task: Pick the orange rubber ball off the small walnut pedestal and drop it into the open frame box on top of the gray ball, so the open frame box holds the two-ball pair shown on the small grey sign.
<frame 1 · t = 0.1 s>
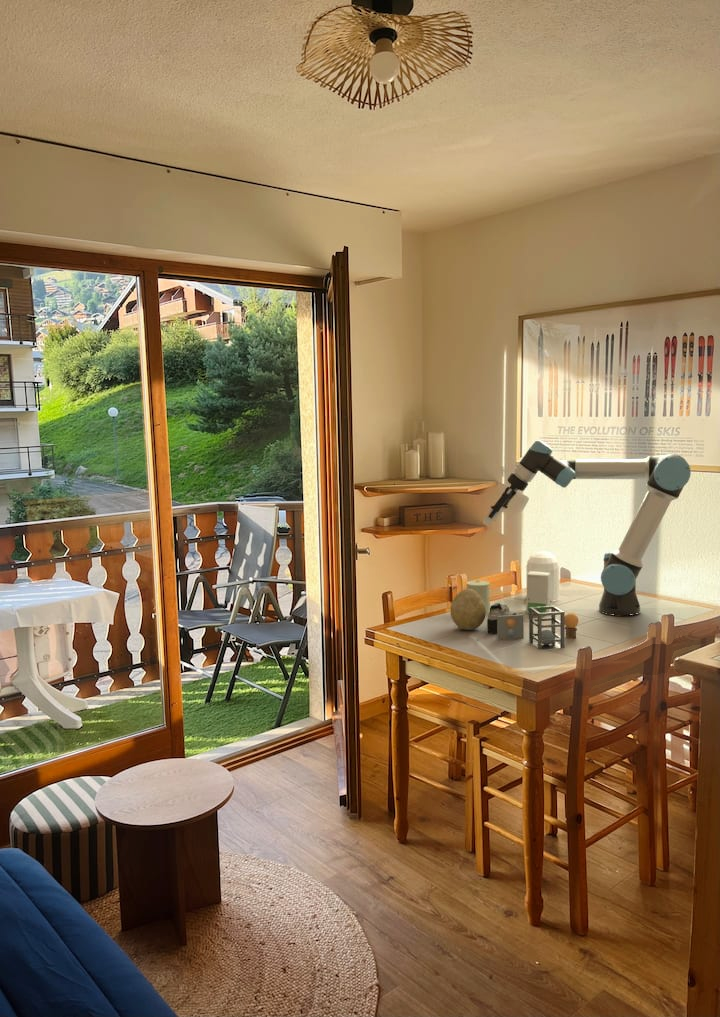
hand: (488, 521, 301), 36 cm above the table, tool tilted 35°, fingers open, 13 cm apart
target sign: (510, 640, 267), on the table
orange ball: (570, 627, 266), point 4 cm above the table, touching pedestal
skincare box: (538, 612, 304), on the table
can: (478, 611, 308), on the table
gray ball: (546, 644, 259), point 1 cm above the table, touching open frame box
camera: (502, 632, 278), on the table
container: (542, 598, 326), on the table
fossilized egg: (468, 630, 283), on the table
open frame box: (546, 647, 259), on the table
pedestal: (570, 639, 266), on the table
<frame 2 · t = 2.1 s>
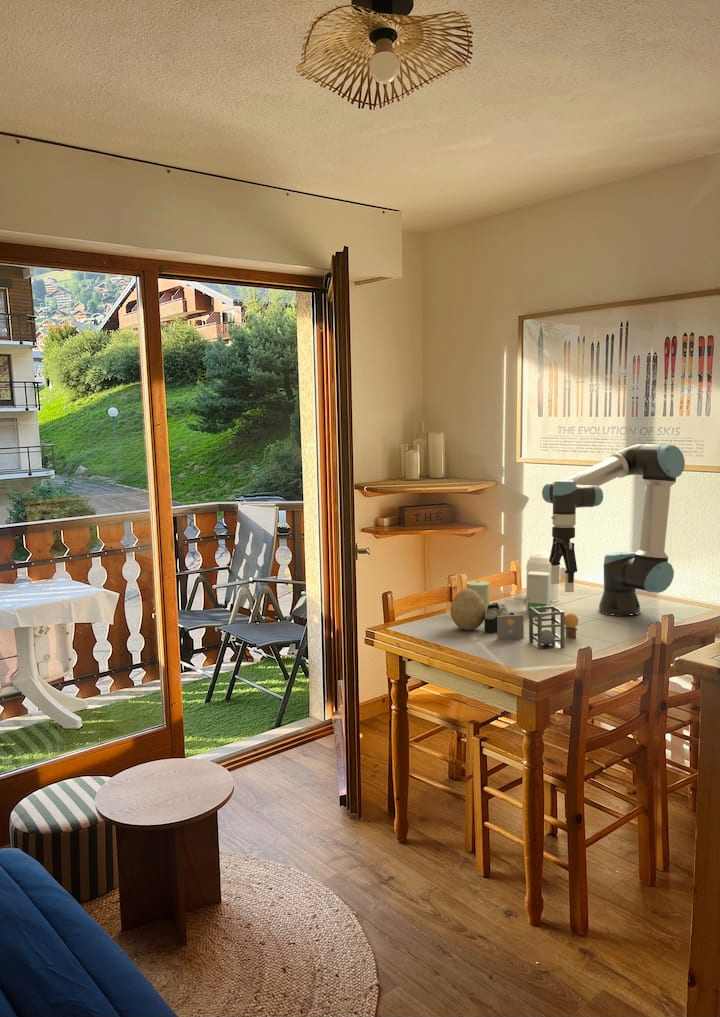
hand: (562, 588, 266), 18 cm above the table, tool pointing down, fingers open, 13 cm apart
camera: (499, 631, 279), on the table
everything else where it was.
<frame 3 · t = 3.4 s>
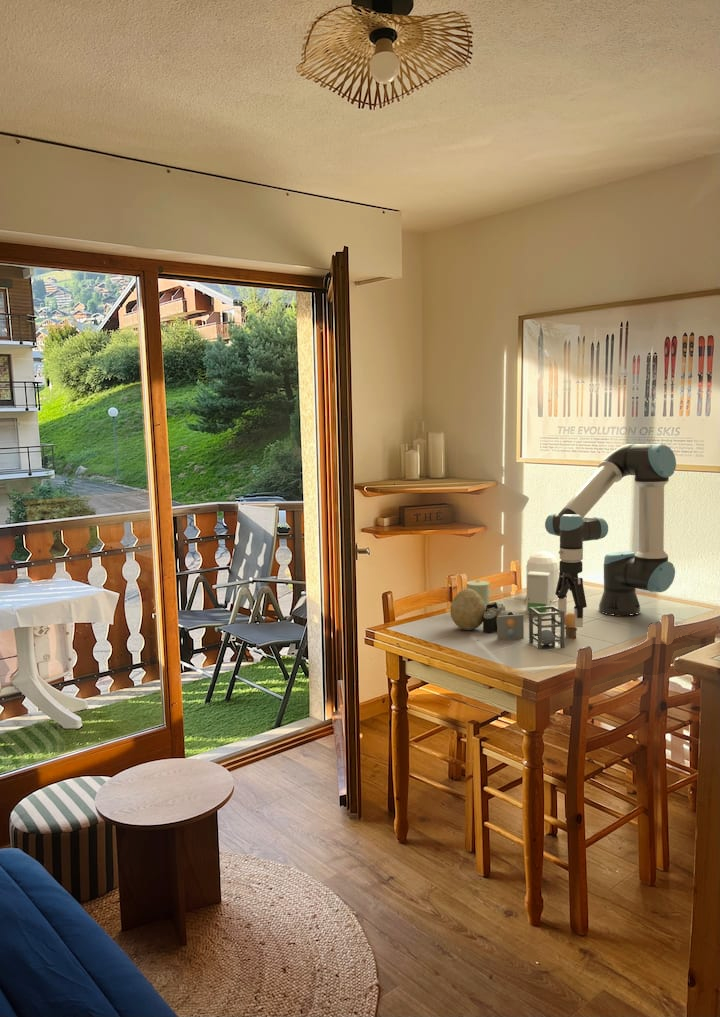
hand: (570, 622, 265), 6 cm above the table, tool pointing down, fingers open, 13 cm apart
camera: (498, 631, 280), on the table, touching fossilized egg
fossilized egg: (468, 629, 283), on the table, touching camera
everything else where it was.
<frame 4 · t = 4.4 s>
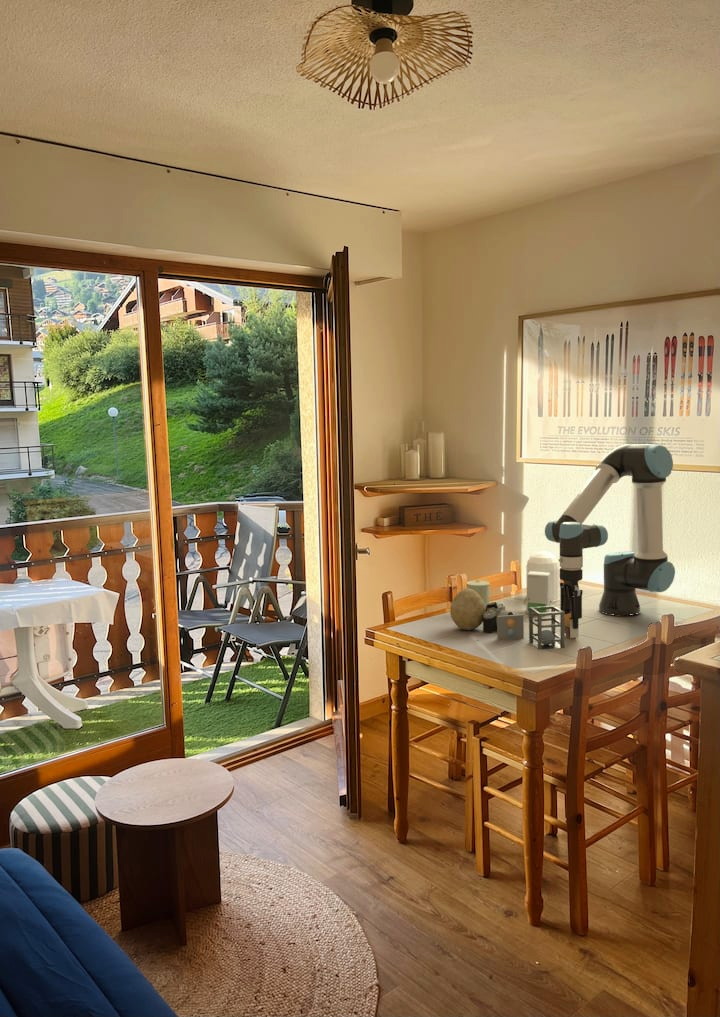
hand: (570, 635, 266), 2 cm above the table, tool pointing down, fingers closed on orange ball, 5 cm apart
orange ball: (570, 627, 266), point 4 cm above the table, touching gripper, pedestal
everything else where it was.
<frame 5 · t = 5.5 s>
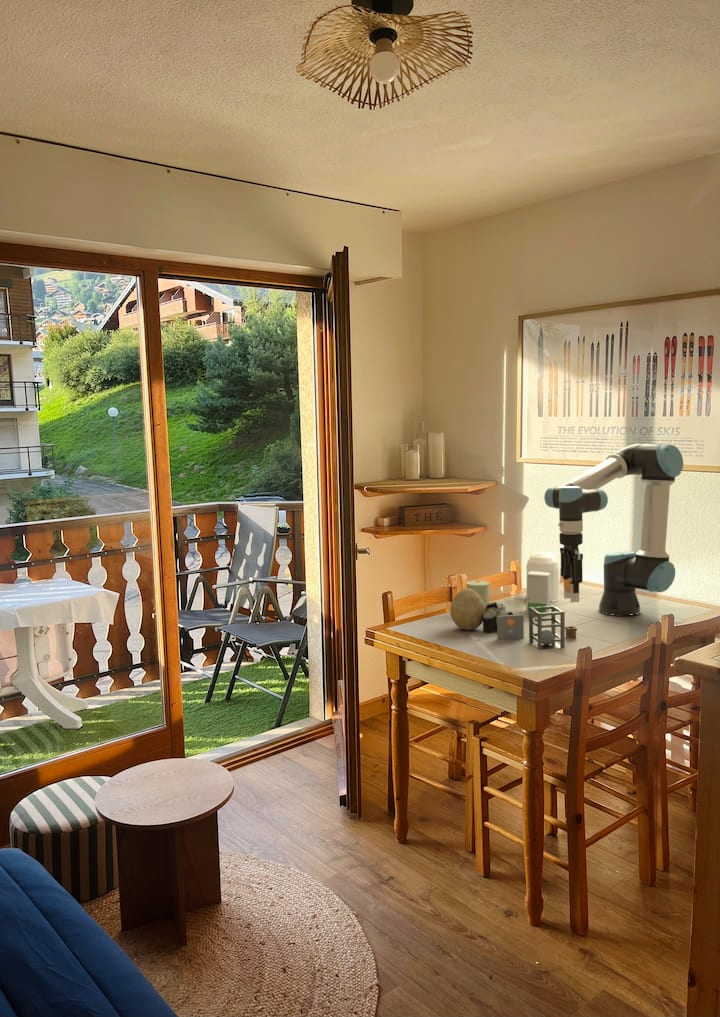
hand: (571, 599, 265), 14 cm above the table, tool pointing down, fingers closed on orange ball, 5 cm apart
orange ball: (571, 592, 264), point 16 cm above the table, touching gripper
everything else where it was.
when the fingers open (14 cm above the table, at t = 6.9 s): orange ball drops 9 cm and tips over, resting on gray ball, open frame box.
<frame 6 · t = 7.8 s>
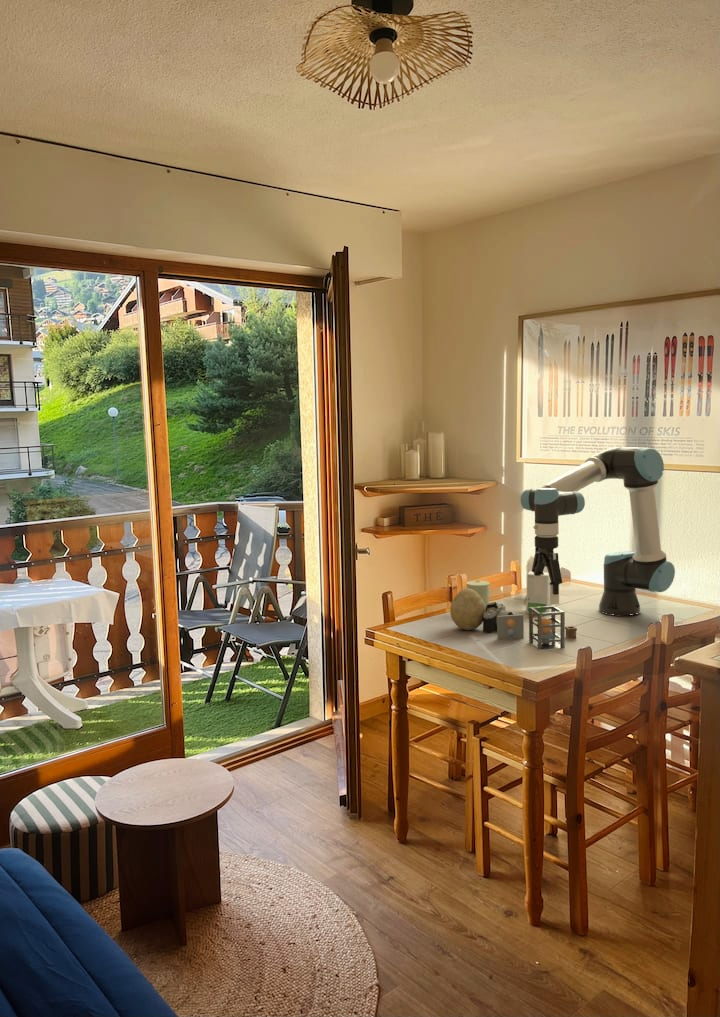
hand: (546, 599, 257), 16 cm above the table, tool pointing down, fingers open, 13 cm apart
orange ball: (544, 624, 259), point 7 cm above the table, tilted 81°, touching gray ball, open frame box
gray ball: (546, 644, 259), point 1 cm above the table, tilted 24°, touching orange ball, open frame box
everything else where it was.
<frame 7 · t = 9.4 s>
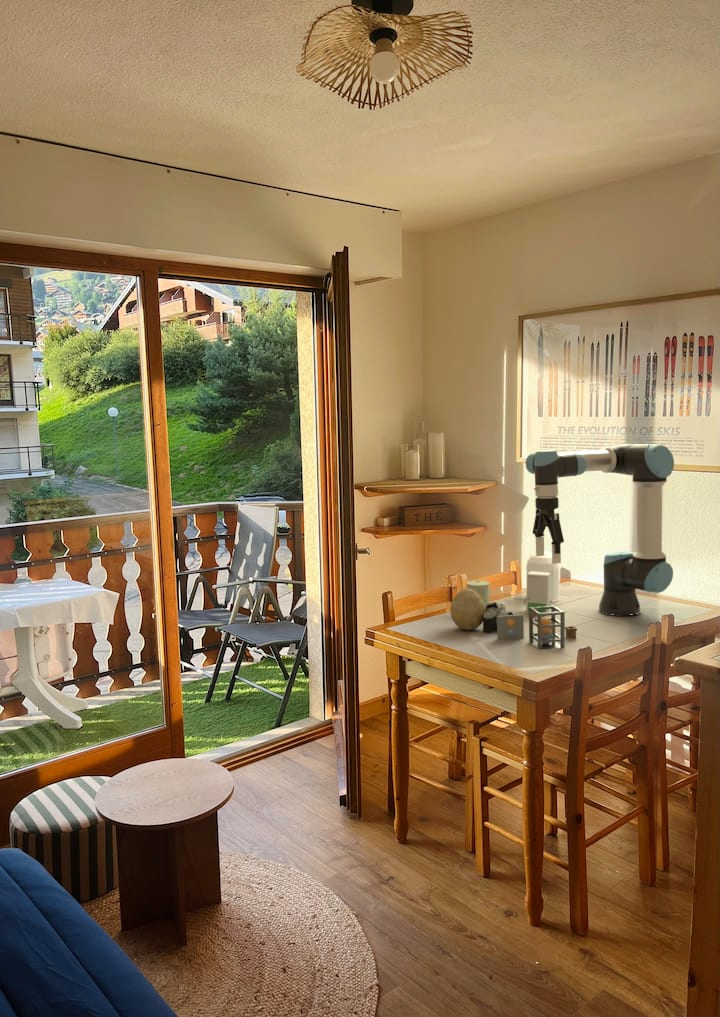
hand: (548, 559, 262), 28 cm above the table, tool pointing down, fingers open, 13 cm apart
nothing on the table moved.
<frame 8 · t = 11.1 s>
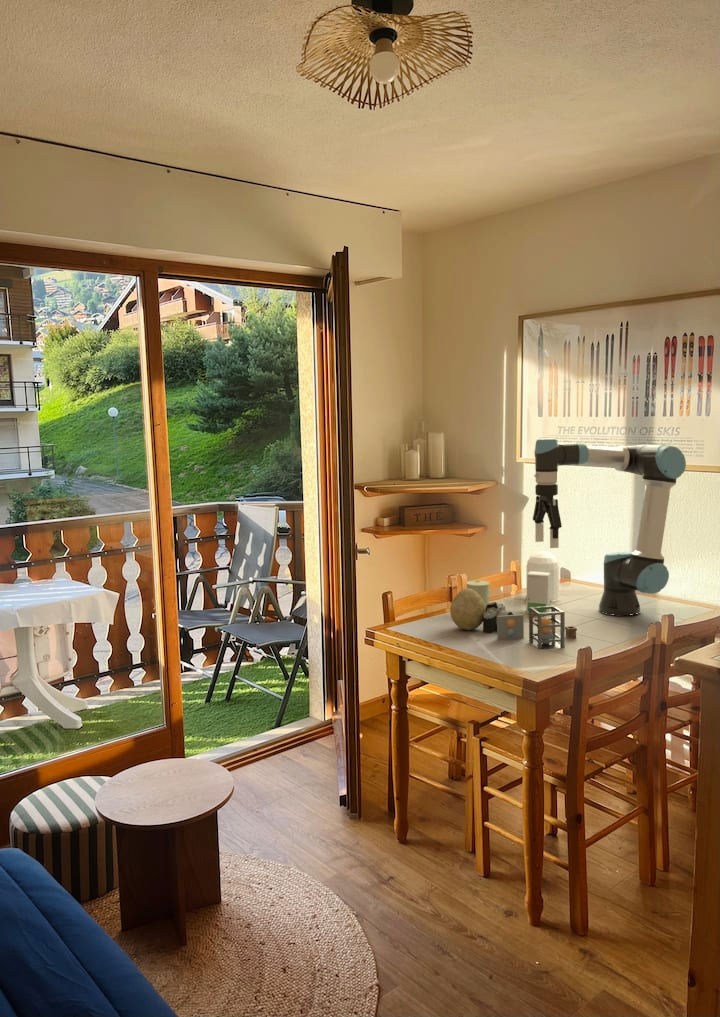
hand: (546, 544, 270), 32 cm above the table, tool pointing down, fingers open, 13 cm apart
nothing on the table moved.
at the end: orange ball 1.3 cm off-centre on the open frame box, point 7.3 cm above the open frame box's base; gray ball 0.0 cm off-centre on the open frame box, point 1.0 cm above the open frame box's base; the gripper is holding nothing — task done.
